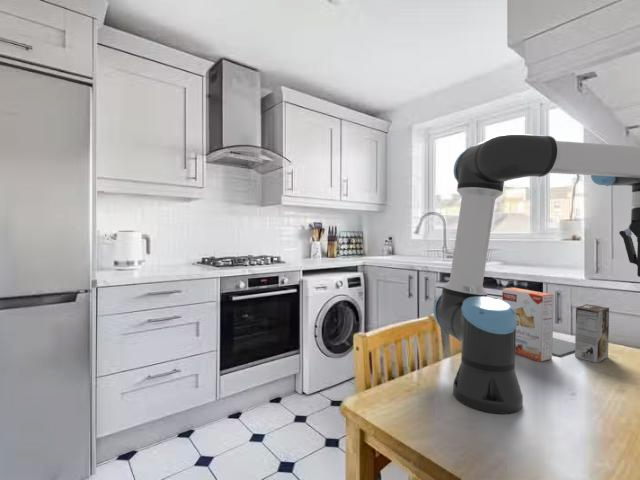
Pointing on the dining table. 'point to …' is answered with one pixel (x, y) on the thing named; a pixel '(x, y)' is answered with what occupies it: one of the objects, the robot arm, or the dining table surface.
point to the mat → (562, 347)
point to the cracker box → (532, 322)
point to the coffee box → (592, 332)
